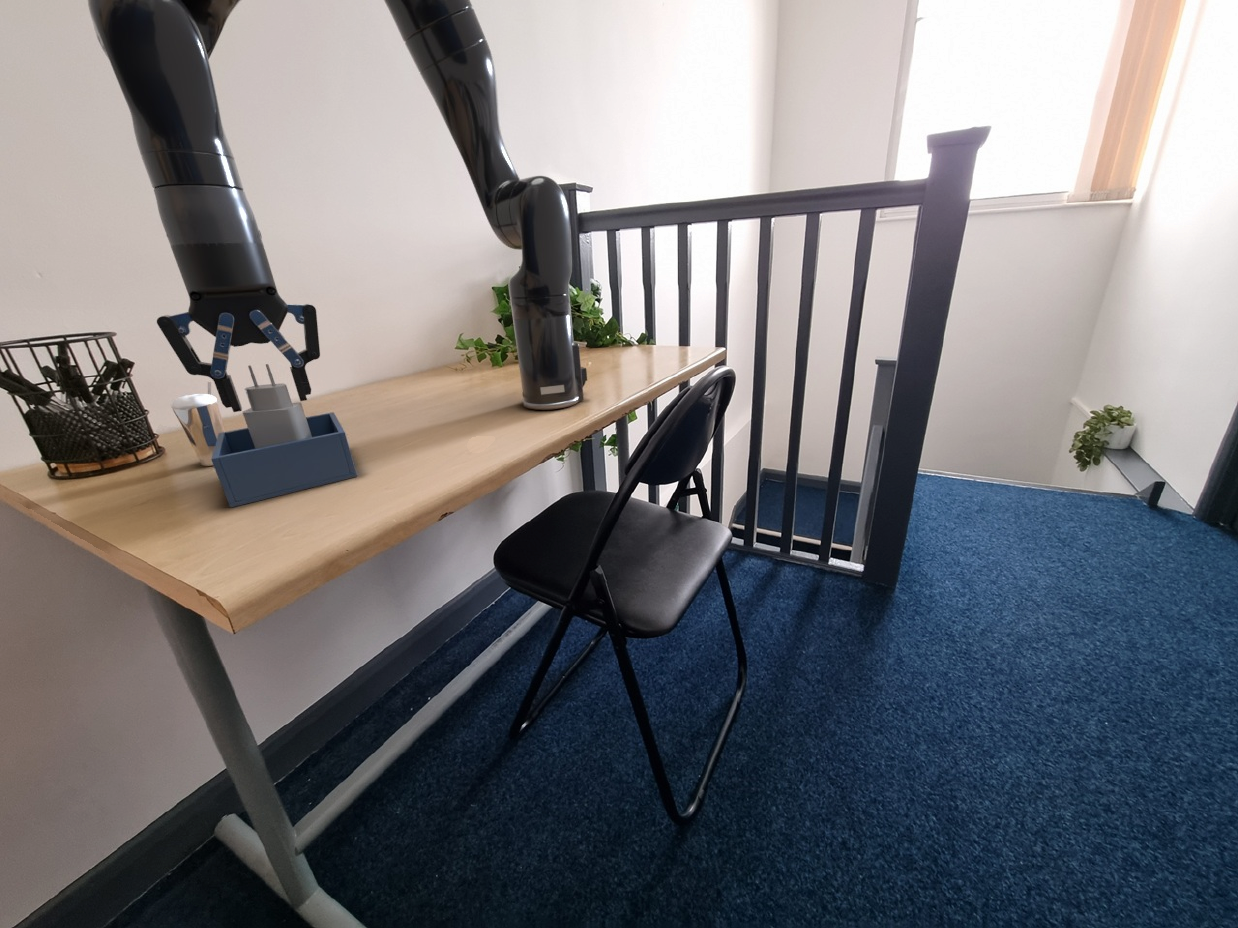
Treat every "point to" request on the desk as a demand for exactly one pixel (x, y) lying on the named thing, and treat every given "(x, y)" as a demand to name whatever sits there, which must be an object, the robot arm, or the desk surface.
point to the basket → (282, 462)
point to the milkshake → (200, 422)
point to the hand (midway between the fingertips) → (271, 404)
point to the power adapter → (274, 414)
